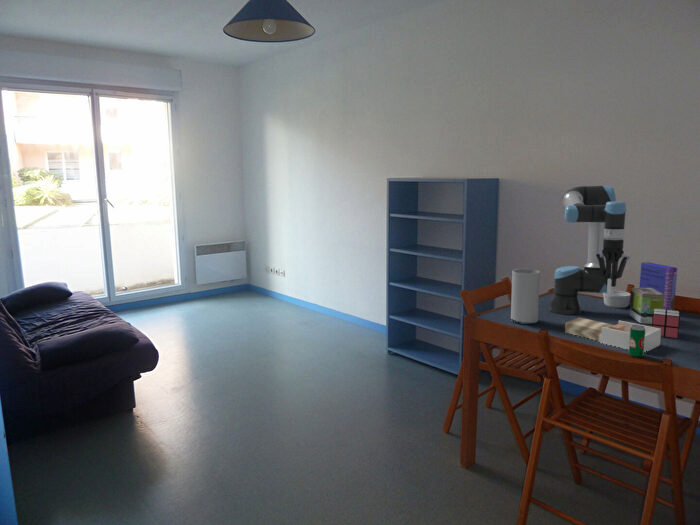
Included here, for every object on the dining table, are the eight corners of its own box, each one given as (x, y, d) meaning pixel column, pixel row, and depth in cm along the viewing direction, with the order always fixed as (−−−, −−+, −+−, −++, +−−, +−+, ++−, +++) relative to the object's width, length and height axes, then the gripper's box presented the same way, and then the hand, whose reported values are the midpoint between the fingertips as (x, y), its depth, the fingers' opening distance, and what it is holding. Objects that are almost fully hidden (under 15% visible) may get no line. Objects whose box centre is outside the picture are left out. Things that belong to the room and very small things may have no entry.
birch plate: (564, 333, 227) (565, 322, 226) (578, 327, 234) (579, 317, 233) (600, 341, 214) (600, 330, 214) (613, 335, 222) (614, 325, 221)
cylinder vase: (509, 317, 254) (511, 268, 250) (535, 318, 252) (537, 269, 247) (512, 324, 242) (513, 273, 238) (539, 325, 240) (541, 273, 235)
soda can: (626, 353, 200) (628, 324, 198) (639, 353, 200) (641, 324, 198) (632, 357, 195) (634, 327, 193) (645, 357, 195) (648, 328, 193)
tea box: (663, 324, 236) (665, 294, 234) (639, 324, 238) (641, 293, 236) (650, 316, 251) (653, 287, 248) (628, 315, 253) (630, 286, 250)
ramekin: (618, 309, 263) (618, 297, 262) (596, 304, 275) (597, 292, 274) (635, 306, 269) (636, 294, 267) (614, 301, 280) (614, 289, 279)
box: (598, 342, 213) (599, 326, 212) (616, 335, 222) (617, 320, 221) (643, 353, 199) (644, 336, 198) (659, 345, 209) (661, 328, 207)
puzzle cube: (678, 339, 216) (680, 316, 214) (650, 335, 221) (652, 313, 219) (677, 332, 224) (679, 311, 223) (651, 329, 229) (653, 308, 228)
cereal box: (673, 314, 252) (677, 267, 248) (665, 315, 251) (669, 268, 247) (645, 306, 269) (648, 262, 265) (638, 307, 268) (641, 262, 264)
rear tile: (611, 326, 213) (618, 328, 211) (617, 324, 217) (625, 325, 214) (610, 340, 214) (617, 342, 212) (617, 337, 218) (624, 339, 215)
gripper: (593, 238, 214) (590, 292, 218) (625, 240, 203) (621, 297, 207) (602, 236, 218) (599, 289, 222) (634, 239, 208) (630, 294, 212)
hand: (610, 293), depth 215 cm, fingers closed
